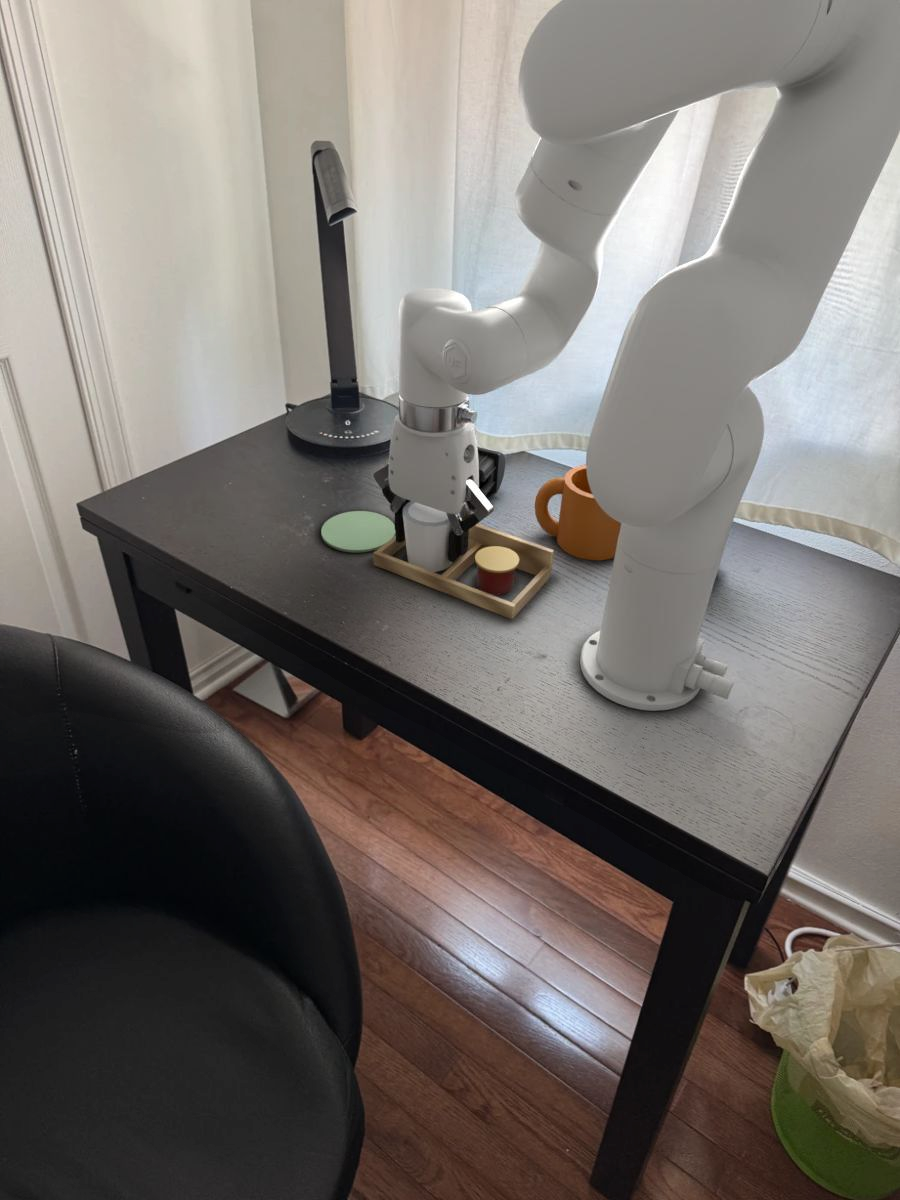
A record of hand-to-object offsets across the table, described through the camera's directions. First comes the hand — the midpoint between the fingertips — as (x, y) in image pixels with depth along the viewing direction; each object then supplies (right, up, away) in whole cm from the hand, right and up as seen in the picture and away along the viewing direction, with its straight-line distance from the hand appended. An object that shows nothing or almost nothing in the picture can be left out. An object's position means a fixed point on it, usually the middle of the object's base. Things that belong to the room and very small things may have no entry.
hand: (430, 546), depth 97 cm
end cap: (+4, +9, +15) cm, 18 cm away
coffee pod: (+8, -5, -2) cm, 9 cm away
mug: (+19, +1, +6) cm, 20 cm away
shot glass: (0, -2, +1) cm, 2 cm away
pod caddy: (+4, -3, -1) cm, 5 cm away
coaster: (-10, +2, +6) cm, 11 cm away
